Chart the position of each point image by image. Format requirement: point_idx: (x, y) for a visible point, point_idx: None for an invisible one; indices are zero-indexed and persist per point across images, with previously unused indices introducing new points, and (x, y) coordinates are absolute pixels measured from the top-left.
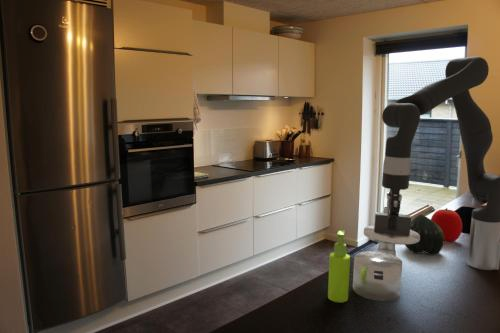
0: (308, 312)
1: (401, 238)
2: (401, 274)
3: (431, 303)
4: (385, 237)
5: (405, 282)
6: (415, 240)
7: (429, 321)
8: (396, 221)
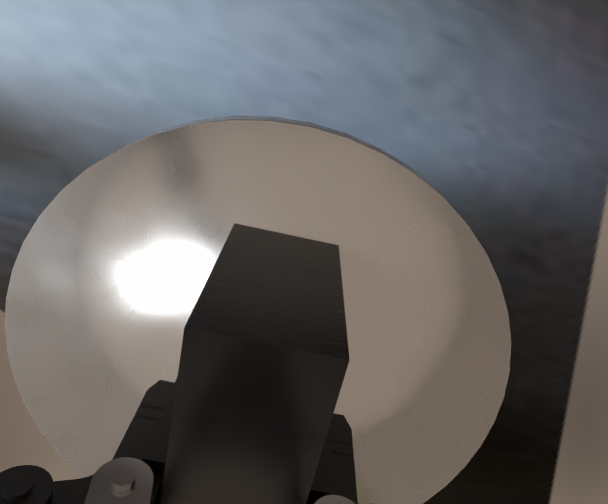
0: (460, 478)
1: (432, 344)
2: None
3: (404, 23)
4: (409, 454)
5: (171, 77)
6: (468, 228)
7: (566, 102)
8: (330, 467)
